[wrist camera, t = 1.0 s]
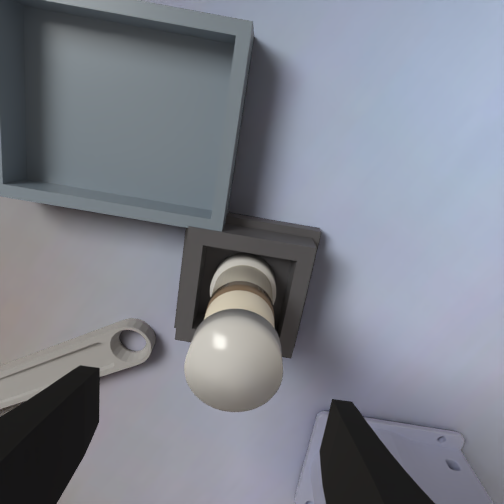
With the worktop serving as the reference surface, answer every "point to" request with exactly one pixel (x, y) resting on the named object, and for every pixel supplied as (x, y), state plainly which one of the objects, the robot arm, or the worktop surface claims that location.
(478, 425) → the worktop surface
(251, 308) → the banded white capsule
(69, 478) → the robot arm
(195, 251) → the dark grey square holder
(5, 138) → the parts tray
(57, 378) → the adjustable wrench
